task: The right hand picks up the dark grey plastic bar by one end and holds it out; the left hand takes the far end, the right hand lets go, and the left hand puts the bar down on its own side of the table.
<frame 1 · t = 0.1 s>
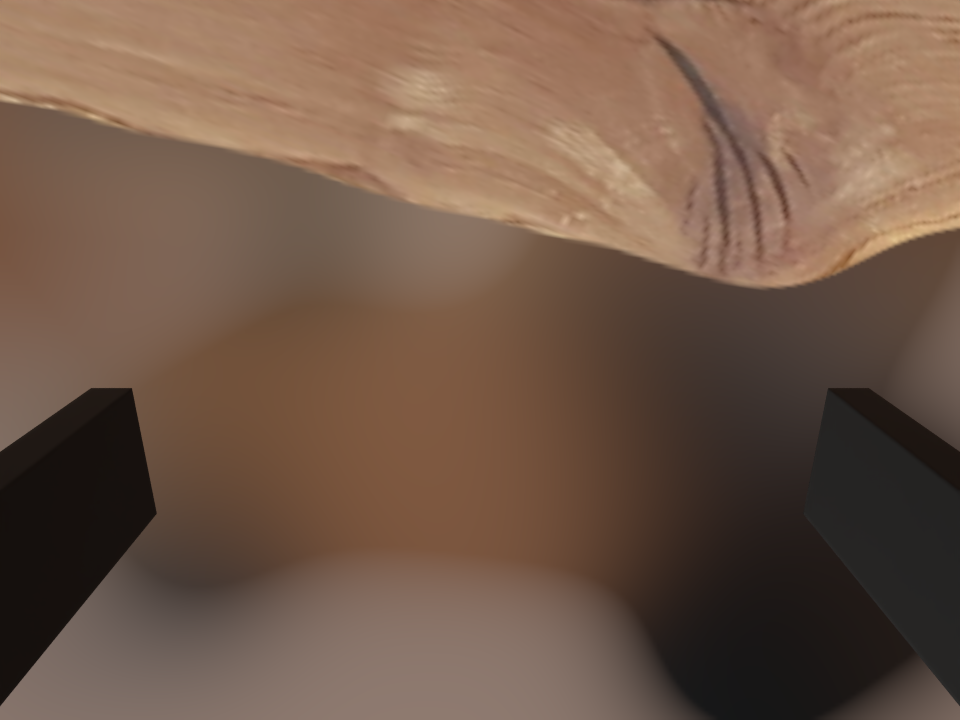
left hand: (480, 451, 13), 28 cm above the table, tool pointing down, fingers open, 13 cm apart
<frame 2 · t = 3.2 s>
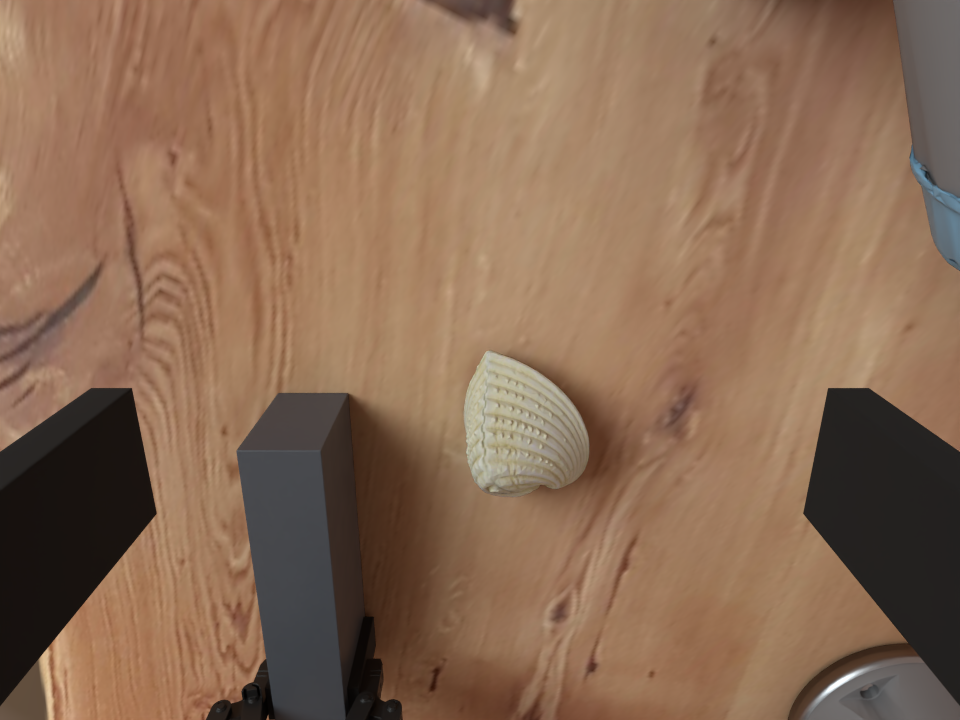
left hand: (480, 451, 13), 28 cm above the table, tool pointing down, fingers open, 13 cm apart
bar: (326, 536, 47), on the table, touching right hand
seashell: (523, 416, 44), on the table
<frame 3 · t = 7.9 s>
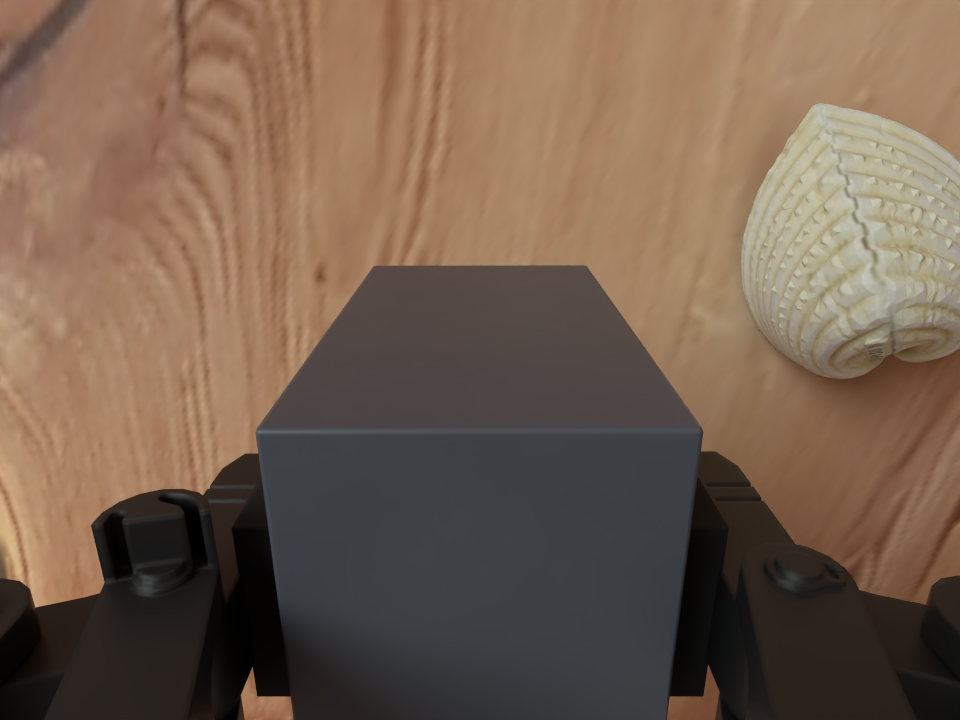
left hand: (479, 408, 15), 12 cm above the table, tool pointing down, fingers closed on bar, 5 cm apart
bar: (480, 667, 18), point 11 cm above the table, touching left hand, right hand
seashell: (840, 246, 25), on the table
when the right hand's fingers open (12 cm above the table, at t = 8.5 s): bar stays where it is, held by the left hand.
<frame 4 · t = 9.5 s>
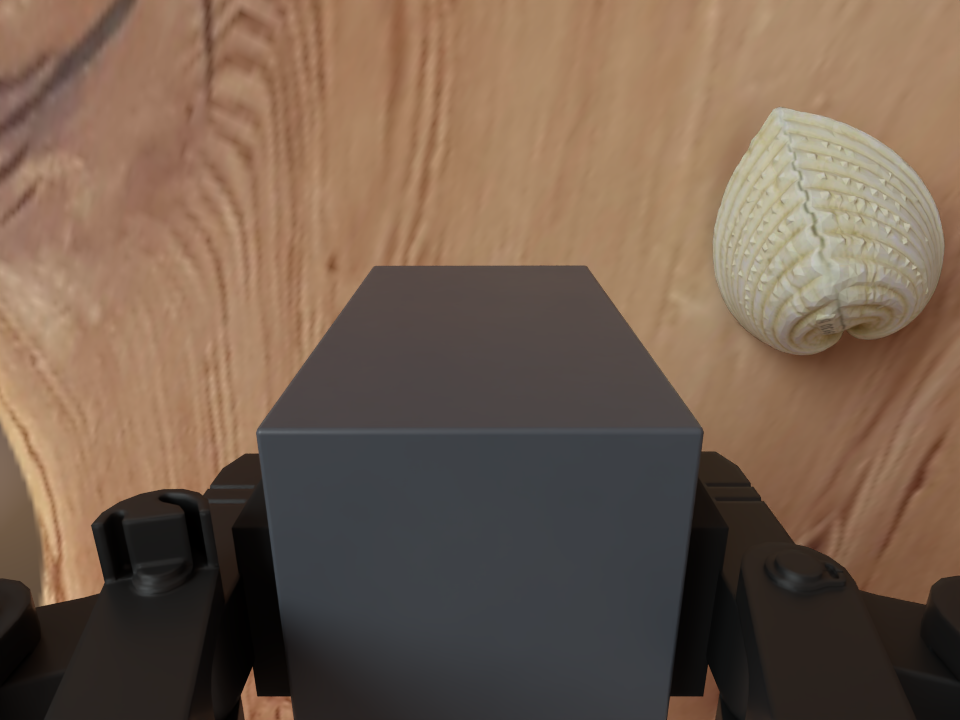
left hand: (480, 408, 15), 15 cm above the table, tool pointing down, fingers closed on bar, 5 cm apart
bar: (480, 667, 18), point 14 cm above the table, touching left hand
seashell: (802, 236, 28), on the table
when the left hand's fingers open (2 cm above the table, at t = 12.3 s): bar drops 1 cm, on the table.
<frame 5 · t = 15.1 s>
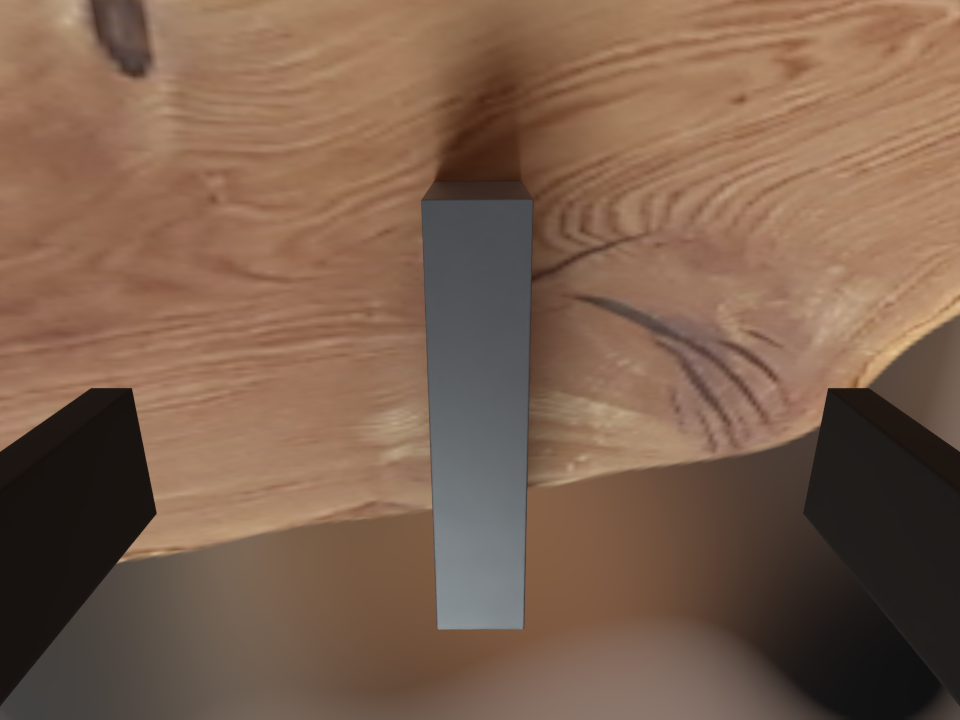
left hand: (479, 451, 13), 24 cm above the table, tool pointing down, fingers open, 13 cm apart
bar: (479, 378, 38), on the table
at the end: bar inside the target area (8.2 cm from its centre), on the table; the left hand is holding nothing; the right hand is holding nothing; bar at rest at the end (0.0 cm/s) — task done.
